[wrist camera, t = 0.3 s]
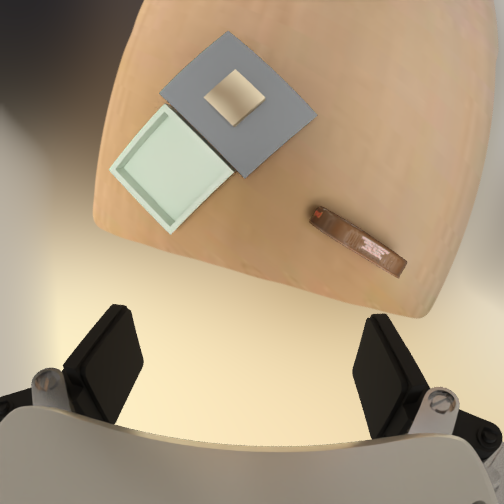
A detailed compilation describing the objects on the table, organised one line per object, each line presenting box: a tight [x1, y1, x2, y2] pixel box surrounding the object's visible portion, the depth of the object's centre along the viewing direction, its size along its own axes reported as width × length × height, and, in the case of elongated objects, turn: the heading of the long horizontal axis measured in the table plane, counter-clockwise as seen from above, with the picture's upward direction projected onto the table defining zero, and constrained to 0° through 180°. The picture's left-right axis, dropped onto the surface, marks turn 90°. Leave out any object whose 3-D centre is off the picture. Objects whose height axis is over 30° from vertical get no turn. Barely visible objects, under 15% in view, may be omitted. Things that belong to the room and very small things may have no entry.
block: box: [204, 69, 265, 127], centre depth 29 cm, size 5×5×2 cm
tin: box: [309, 206, 407, 278], centre depth 35 cm, size 15×3×8 cm, turn 62°
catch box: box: [109, 104, 236, 235], centre depth 36 cm, size 12×13×3 cm
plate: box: [159, 31, 318, 178], centre depth 32 cm, size 12×16×4 cm
